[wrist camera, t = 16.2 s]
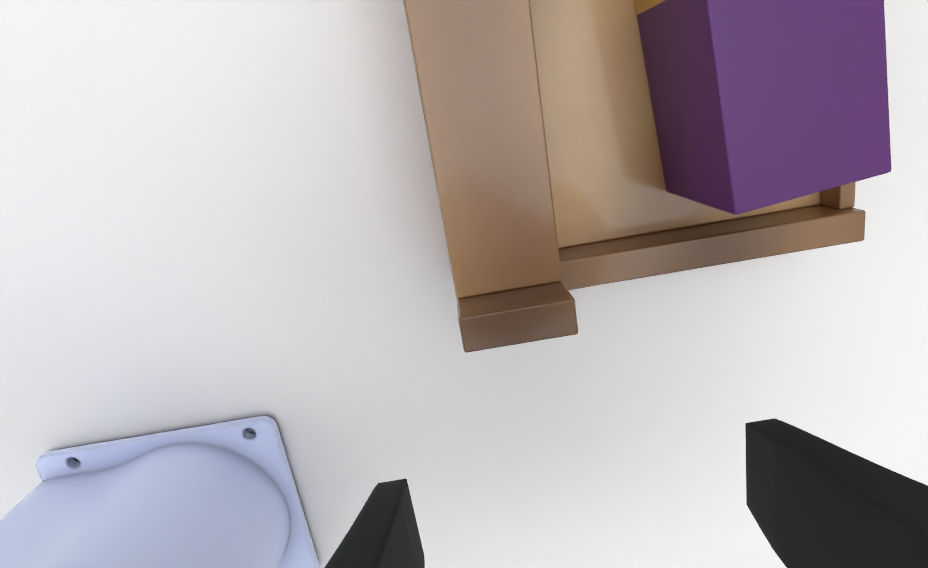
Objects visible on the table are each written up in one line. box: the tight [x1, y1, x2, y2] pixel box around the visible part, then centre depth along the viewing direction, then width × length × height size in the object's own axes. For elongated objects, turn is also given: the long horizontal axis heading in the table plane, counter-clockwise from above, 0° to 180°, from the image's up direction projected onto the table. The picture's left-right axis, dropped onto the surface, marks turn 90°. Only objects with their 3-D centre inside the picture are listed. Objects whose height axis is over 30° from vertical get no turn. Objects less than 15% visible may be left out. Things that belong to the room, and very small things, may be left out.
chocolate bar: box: [634, 0, 891, 215], centre depth 15 cm, size 4×9×5 cm, turn 16°
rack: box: [404, 0, 865, 352], centre depth 15 cm, size 13×14×6 cm
